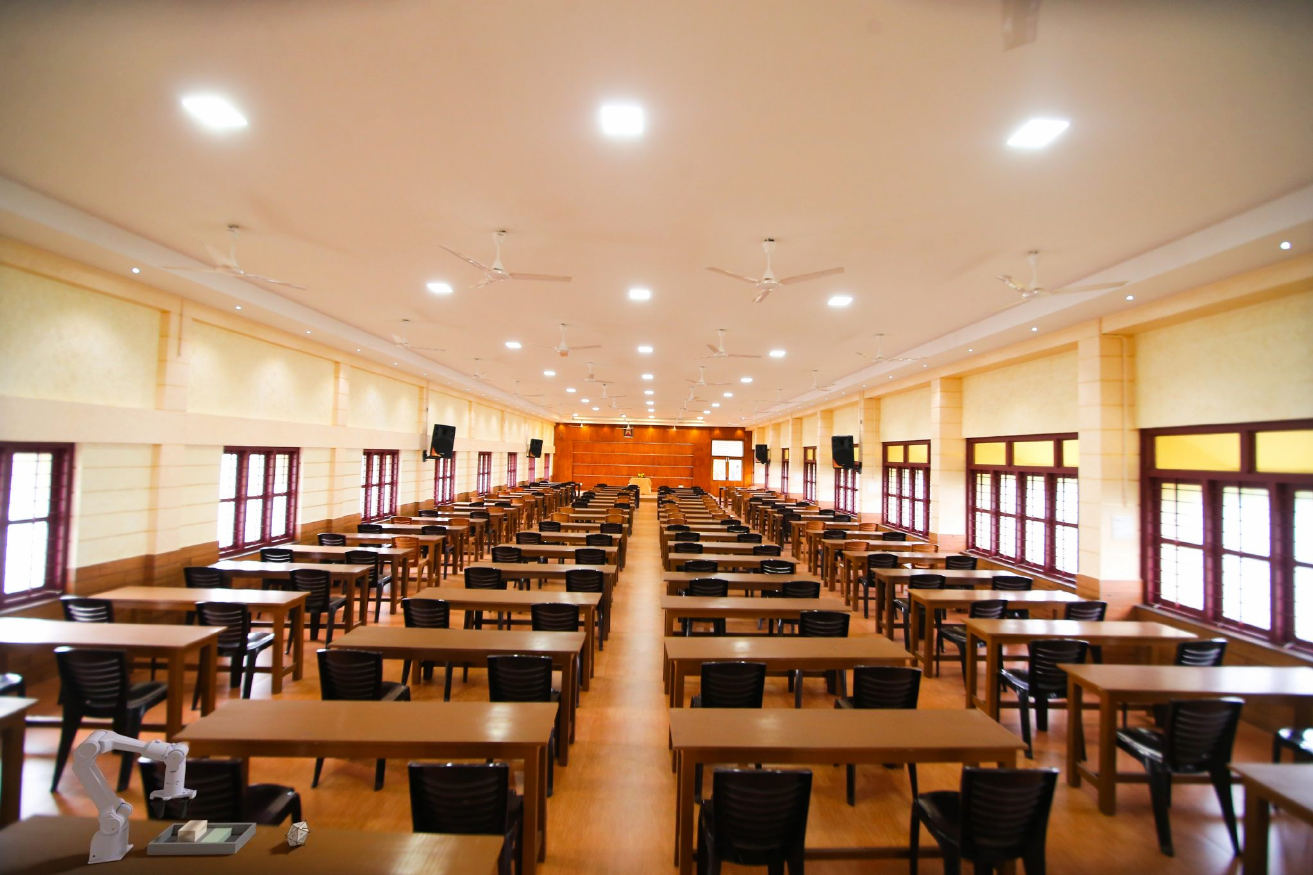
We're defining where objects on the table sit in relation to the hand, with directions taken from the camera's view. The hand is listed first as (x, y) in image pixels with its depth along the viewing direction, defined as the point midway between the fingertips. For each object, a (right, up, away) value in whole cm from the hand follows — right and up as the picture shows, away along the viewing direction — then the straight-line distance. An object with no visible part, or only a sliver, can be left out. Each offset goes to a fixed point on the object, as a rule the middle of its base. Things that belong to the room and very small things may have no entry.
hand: (171, 817), depth 212 cm
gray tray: (+11, -10, 0) cm, 15 cm away
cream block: (+7, -7, 0) cm, 10 cm away
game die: (+45, -12, +2) cm, 47 cm away
